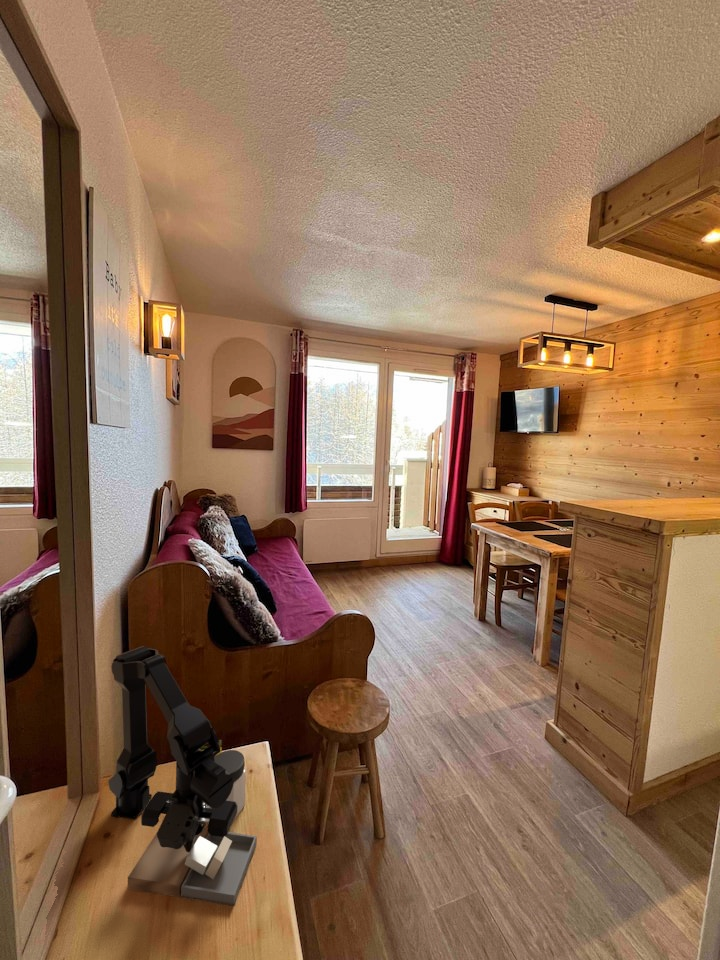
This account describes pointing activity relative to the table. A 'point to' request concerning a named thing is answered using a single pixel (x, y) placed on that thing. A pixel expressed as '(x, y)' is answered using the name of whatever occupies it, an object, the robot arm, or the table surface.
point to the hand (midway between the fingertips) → (189, 850)
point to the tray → (222, 872)
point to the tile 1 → (201, 855)
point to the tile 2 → (218, 857)
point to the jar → (234, 775)
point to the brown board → (161, 869)
